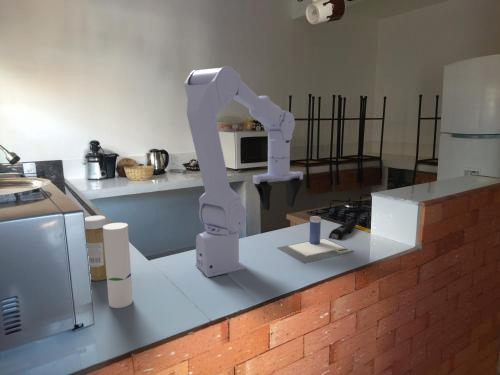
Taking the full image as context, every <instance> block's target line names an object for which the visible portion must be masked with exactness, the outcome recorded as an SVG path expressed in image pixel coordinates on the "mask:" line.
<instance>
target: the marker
mask: <svg viewBox="0 0 500 375" xmlns="http://www.w3.org/2000/svg"><path fill="white" fill-rule="evenodd" d="M321 221H322V217H321V216H317V215H315V216H314V215H313V216H310V217H309V241H310V242H309V243H310V244H313V245H318V244H320V239H321V228H322V227H321Z"/></svg>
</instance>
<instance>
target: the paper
mask: <svg viewBox="0 0 500 375" xmlns="http://www.w3.org/2000/svg"><path fill="white" fill-rule="evenodd" d="M326 239H327V238H326ZM326 239H323V238H320V244H318V245H313V244H310V243H309V242H308V241H304V242H305V243H303V242H299V243H300V244H298V243H294V244H295V245H293V244H289V245H290V246H288V245H287V246H288V247H289V248H291V249H293V250H295V251H297V252H298V253H300V254H302V255H304V256H306V257H308V256H313V255H317V254H322V253H326V252H331V251H334V250H336V249H340V248H344V247H345V246H344V247H342V246H343V245H342V246H340V245H341V244H339V243H337V244H335V243H336V242H335V243H333V242H334V241H332V240H330V241H328V240H329V239H328V240H326ZM331 241H332V242H331ZM338 244H339V245H338Z"/></svg>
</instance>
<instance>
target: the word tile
mask: <svg viewBox="0 0 500 375" xmlns="http://www.w3.org/2000/svg"><path fill="white" fill-rule="evenodd" d="M344 247H345V248H340V249H336V250H334V251H335V252H337V253H339V254H342V253H347V252H351V251H352V250H353V249H351V248H348V247H346V246H344ZM347 254H348V253H347Z"/></svg>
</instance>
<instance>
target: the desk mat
mask: <svg viewBox="0 0 500 375" xmlns="http://www.w3.org/2000/svg"><path fill="white" fill-rule="evenodd" d="M322 239H326V240H328V241H331V242H333V243H335V244H338V245H340V246H342V247H344V248H345V247H346V246H344V245H341V244H339V243H337V242H335V241H332V240H331V239H329V238H322ZM305 242H306V241H304V242H302V243H305ZM307 242H310V240H309V241H307ZM300 243H301V242H299V243H297V244H300ZM295 244H296V243H293V244H292V245H295ZM290 245H291V244H289V245H284V246H279V247H276V249H278V250H279V251H281V252H284V253H285V254H287V255H288V256H290V257H292V258H294V259H295V260H297V261H298V262H300V263H302V264H307V263H312V262H315V261H317V262H318V261H321V260H326V259H329V258H334V257H338V256H343V255H346V254H351V253H352V254H353V253H355V252H356V251H355V250H353V249H351V250H352V251H351V252H347V253H342V254H339V253H337V252H335V251H331V252H326V253H322V254H317V255H313V256H308V257H306V256H304V255H302V254H300V253H298V252H297V251H295V250H293V249H291V248H289V247H288V246H290Z"/></svg>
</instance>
